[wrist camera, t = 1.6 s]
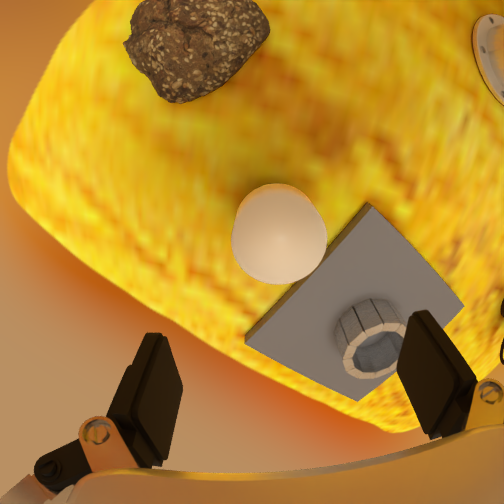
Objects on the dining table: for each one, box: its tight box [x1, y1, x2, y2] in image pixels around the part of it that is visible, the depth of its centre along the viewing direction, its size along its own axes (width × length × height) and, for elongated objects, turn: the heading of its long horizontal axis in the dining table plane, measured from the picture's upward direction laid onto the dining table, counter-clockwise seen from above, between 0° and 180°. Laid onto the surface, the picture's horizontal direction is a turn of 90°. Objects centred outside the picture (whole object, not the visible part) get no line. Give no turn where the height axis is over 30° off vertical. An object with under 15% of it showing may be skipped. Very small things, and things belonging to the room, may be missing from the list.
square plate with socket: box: [245, 203, 464, 402], centre depth 31 cm, size 20×20×6 cm
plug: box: [231, 183, 327, 284], centre depth 25 cm, size 7×7×8 cm
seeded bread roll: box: [123, 0, 270, 104], centre depth 20 cm, size 13×12×5 cm
